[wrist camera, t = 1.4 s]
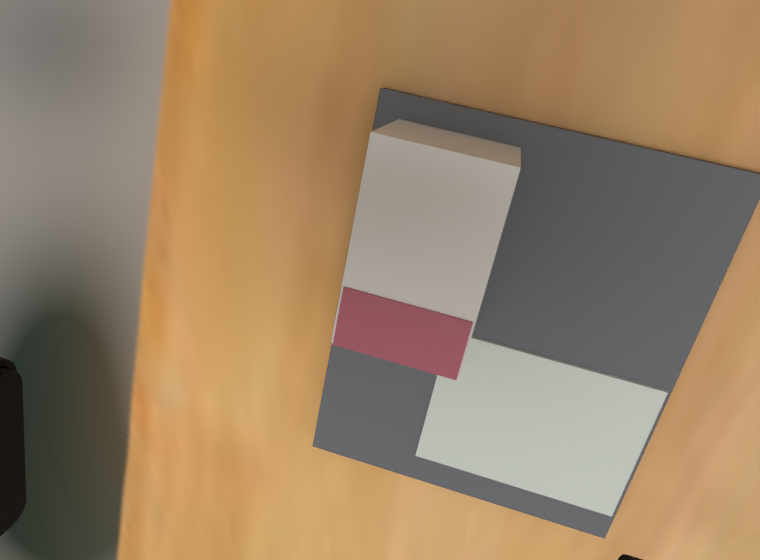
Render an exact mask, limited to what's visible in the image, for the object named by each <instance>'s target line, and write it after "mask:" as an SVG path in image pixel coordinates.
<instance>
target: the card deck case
mask: <svg viewBox="0 0 760 560" xmlns="http://www.w3.org/2000/svg"><path fill="white" fill-rule="evenodd" d="M520 169H521V147H517V146H513V145H508V144H504V143H500V142H496V141H491V140H487V139H483V138H478V137H474V136H470V135H466V134H461V133H457V132H453V131H448V130H444V129H440V128H436V127H431V126H427V125H423V124H418V123H414V122H410V121H406V120H401V119H398V120H396V121H394V122H391V123H389V124H387V125H385V126H383V127H380V128H378V129H376V130H374V131H372V132H370V137H369V143H368V148H367V153H366V159H365V164H364V169H363V175H362V180H361V185H360V191H359V196H358V201H357V206H356V212H355V217H354V222H353V228H352V233H351V238H350V244H349V249H348V254H347V260H346V265H345V270H344V276H343V281H342V286H341V292H340V297H339V302H338V307H337V313H336V318H335V323H334V329H333V334H332V339H331V343H333V345H336V346H339V347H343V348H346V349H350V350H353V351H356V352H360V353H363V354H367V355H370V356H374V357H377V358H381V359H384V360H387V361H391V362H394V363H398V364H401V365H405V366H408V367H412V368H415V369H418V370H422V371H425V372H429V373H432V374H436V375H439V376H443V377H446V378H449V379H453V380H457V379H458V380H459V379H460V375H461V372H462V368H463V365H464V362H465V358H466V355H467V351H468V348H469V344H470V341H471V337H472V334H473V331H474V327H475V324H476V320H477V317H478V313H479V310H480V307H481V303H482V300H483V296H484V293H485V289H486V286H487V282H488V279H489V276H490V272H491V269H492V265H493V262H494V258H495V255H496V252H497V248H498V245H499V241H500V238H501V234H502V231H503V227H504V224H505V221H506V217H507V214H508V210H509V207H510V203H511V200H512V197H513V193H514V190H515V186H516V183H517V179H518V176H519V172H520Z"/></svg>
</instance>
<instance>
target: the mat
mask: <svg viewBox="0 0 760 560" xmlns="http://www.w3.org/2000/svg"><path fill="white" fill-rule="evenodd" d="M398 119H401V120H406V121H410V122H414V123H418V124H423V125H427V126H431V127H436V128H440V129H444V130H448V131H453V132H457V133H461V134H466V135H470V136H474V137H478V138H483V139H487V140H491V141H496V142H500V143H504V144H508V145H513V146H517V147H521V169H520V172H519V176H518V179H517V183H516V186H515V190H514V193H513V197H512V200H511V203H510V207H509V210H508V214H507V217H506V221H505V224H504V227H503V231H502V234H501V238H500V241H499V245H498V248H497V252H496V255H495V258H494V262H493V265H492V269H491V272H490V276H489V279H488V282H487V286H486V289H485V293H484V296H483V300H482V303H481V307H480V310H479V313H478V317H477V320H476V324H475V327H474V331H473V334H472V337H471V341H470V344H469V348H468V351H467V355H466V358H465V362H464V365H463V368H462V372H461V375H460V379H459V380H458V379H457V380H453V379H449V378H446V377H443V376H439V375H436V374H432V373H429V372H425V371H422V370H418V369H415V368H412V367H408V366H405V365H401V364H398V363H394V362H391V361H387V360H384V359H381V358H377V357H374V356H370V355H367V354H363V353H360V352H356V351H353V350H350V349H346V348H343V347H339V346H336V345H333V343H332V347H331V352H330V357H329V362H328V368H327V373H326V378H325V384H324V389H323V394H322V399H321V405H320V410H319V415H318V421H317V426H316V431H315V436H314V442H313V446H314V447H317V448H320V449H323V450H326V451H329V452H333V453H336V454H339V455H342V456H345V457H348V458H352V459H355V460H358V461H361V462H364V463H367V464H371V465H374V466H377V467H380V468H383V469H386V470H390V471H393V472H396V473H399V474H402V475H405V476H409V477H412V478H415V479H418V480H421V481H424V482H428V483H431V484H434V485H437V486H440V487H443V488H447V489H450V490H453V491H456V492H459V493H462V494H466V495H469V496H472V497H475V498H478V499H481V500H485V501H488V502H491V503H494V504H497V505H500V506H504V507H507V508H510V509H513V510H516V511H519V512H523V513H526V514H529V515H532V516H535V517H538V518H542V519H545V520H548V521H551V522H554V523H557V524H561V525H564V526H567V527H570V528H573V529H577V530H580V531H583V532H586V533H589V534H592V535H596V536H599V537H602V538H605V537H606V534H607V532H608V530H609V528H610V526H611V524H612V521H613V519H614V517H615V515H616V513H617V510H618V508H619V506H620V504H621V502H622V499H623V497H624V495H625V493H626V491H627V488H628V486H629V484H630V482H631V480H632V478H633V475H634V473H635V471H636V469H637V467H638V464H639V462H640V460H641V458H642V456H643V453H644V451H645V449H646V447H647V445H648V442H649V440H650V438H651V436H652V434H653V431H654V429H655V427H656V425H657V423H658V421H659V418H660V416H661V414H662V412H663V410H664V407H665V405H666V403H667V401H668V399H669V396H670V394H671V392H672V390H673V388H674V385H675V383H676V381H677V379H678V377H679V374H680V372H681V370H682V368H683V366H684V364H685V361H686V359H687V357H688V355H689V353H690V350H691V348H692V346H693V344H694V342H695V339H696V337H697V335H698V333H699V331H700V328H701V326H702V324H703V322H704V320H705V318H706V315H707V313H708V311H709V309H710V307H711V304H712V302H713V300H714V298H715V296H716V293H717V291H718V289H719V287H720V285H721V282H722V280H723V278H724V276H725V274H726V271H727V269H728V267H729V265H730V263H731V261H732V258H733V256H734V254H735V252H736V250H737V247H738V245H739V243H740V241H741V239H742V236H743V234H744V232H745V230H746V228H747V225H748V223H749V221H750V219H751V217H752V214H753V212H754V210H755V208H756V206H757V204H758V201H759V199H760V173H757V172H752V171H748V170H744V169H739V168H735V167H730V166H726V165H722V164H717V163H713V162H708V161H704V160H700V159H695V158H691V157H686V156H682V155H678V154H673V153H669V152H664V151H660V150H656V149H651V148H647V147H642V146H638V145H633V144H629V143H625V142H620V141H616V140H611V139H607V138H603V137H598V136H594V135H589V134H585V133H581V132H576V131H572V130H567V129H563V128H559V127H554V126H550V125H545V124H541V123H536V122H532V121H528V120H523V119H519V118H514V117H510V116H506V115H501V114H497V113H492V112H488V111H484V110H479V109H475V108H470V107H466V106H462V105H457V104H453V103H448V102H444V101H440V100H435V99H431V98H426V97H422V96H417V95H413V94H409V93H404V92H400V91H395V90H391V89H387V88H380V93H379V98H378V103H377V109H376V114H375V119H374V124H373V130H372V131H374V130H376V129H378V128H380V127H383V126H385V125H387V124H389V123H391V122H394V121H396V120H398Z"/></svg>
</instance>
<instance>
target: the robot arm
mask: <svg viewBox="0 0 760 560" xmlns="http://www.w3.org/2000/svg"><path fill="white" fill-rule="evenodd" d="M25 504H26V479H25V450H24V422H23V394H22V379H21V376H20V375H19V373H17V370H16V366H15V365H14V363H13V362H12V361H9V360H7V359H4V358H1V357H0V536H1V535H2V534H3V533H4V532H5V531H7V530H8V529H9V528H10V527H11V526H12V525H13V524H14V523H15V522H16V521H17V520H18V518H19V517H20V515H21V514H22V512H23V510H24V507H25ZM618 560H642V559H639V558H636V557H632V556H629V555H625V554H623V555H621V556H620V557H619V558H618Z"/></svg>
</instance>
